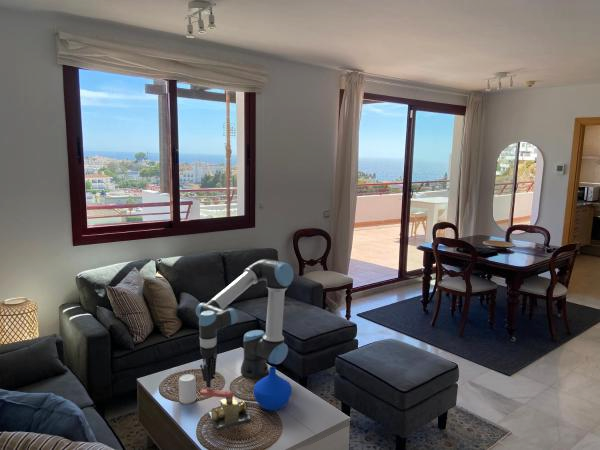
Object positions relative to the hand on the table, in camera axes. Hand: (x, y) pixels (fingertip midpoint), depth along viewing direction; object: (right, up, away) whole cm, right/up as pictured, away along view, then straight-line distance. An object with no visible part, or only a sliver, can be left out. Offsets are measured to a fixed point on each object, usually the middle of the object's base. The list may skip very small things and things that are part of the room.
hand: (209, 392), depth 207 cm
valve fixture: (+9, -11, -2) cm, 15 cm away
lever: (+4, 0, -3) cm, 5 cm away
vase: (+29, -10, +9) cm, 32 cm away
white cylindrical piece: (-13, -9, +12) cm, 20 cm away
